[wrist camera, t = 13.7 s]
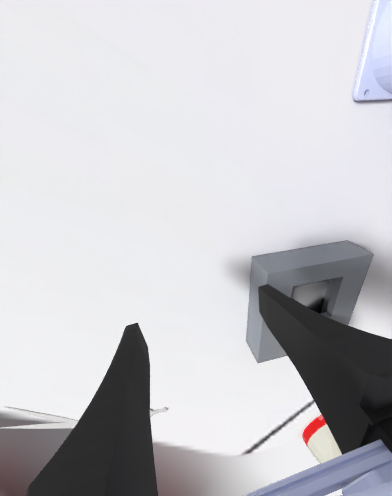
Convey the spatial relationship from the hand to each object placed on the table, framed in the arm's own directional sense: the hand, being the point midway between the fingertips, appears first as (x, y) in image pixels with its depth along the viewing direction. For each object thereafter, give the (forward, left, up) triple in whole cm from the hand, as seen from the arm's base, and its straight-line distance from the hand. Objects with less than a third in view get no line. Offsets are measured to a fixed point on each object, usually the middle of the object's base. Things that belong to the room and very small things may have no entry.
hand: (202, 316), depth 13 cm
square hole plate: (-14, +9, -10) cm, 20 cm away
